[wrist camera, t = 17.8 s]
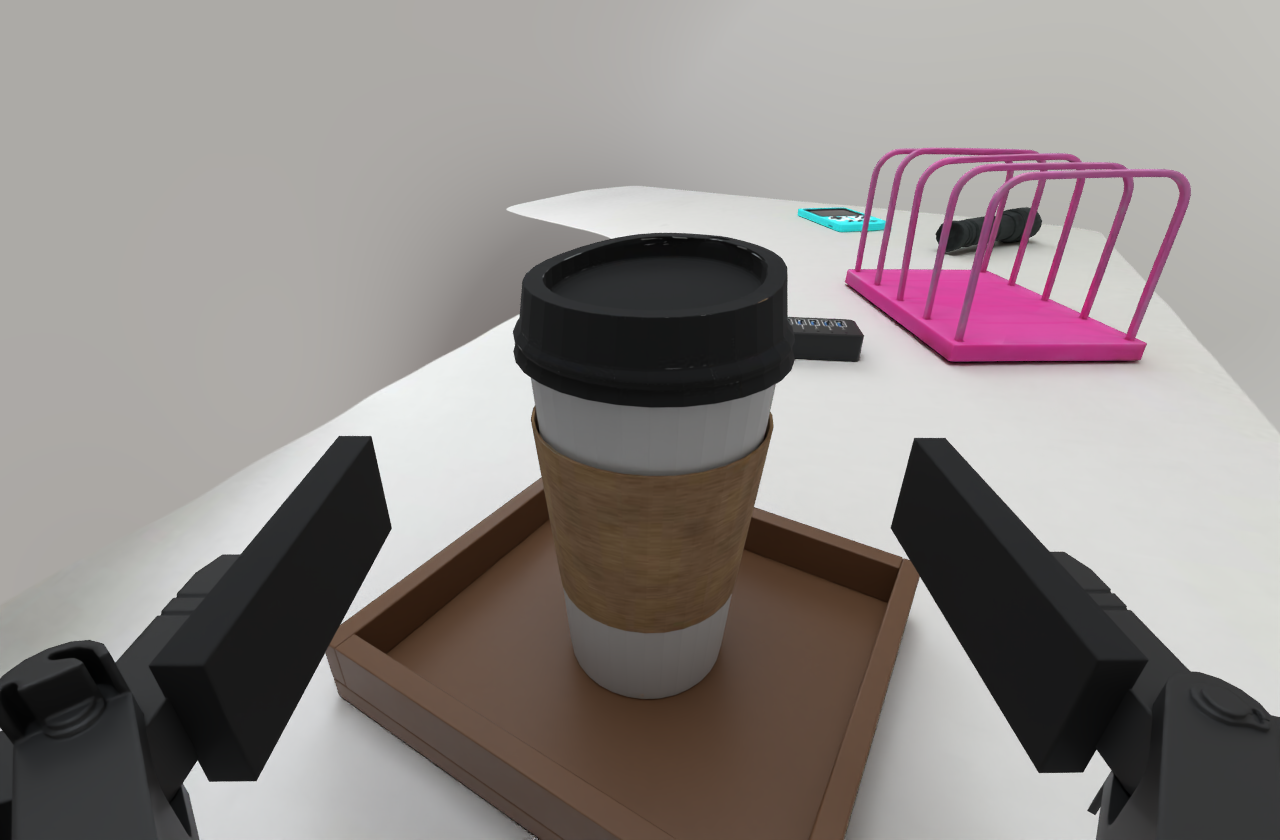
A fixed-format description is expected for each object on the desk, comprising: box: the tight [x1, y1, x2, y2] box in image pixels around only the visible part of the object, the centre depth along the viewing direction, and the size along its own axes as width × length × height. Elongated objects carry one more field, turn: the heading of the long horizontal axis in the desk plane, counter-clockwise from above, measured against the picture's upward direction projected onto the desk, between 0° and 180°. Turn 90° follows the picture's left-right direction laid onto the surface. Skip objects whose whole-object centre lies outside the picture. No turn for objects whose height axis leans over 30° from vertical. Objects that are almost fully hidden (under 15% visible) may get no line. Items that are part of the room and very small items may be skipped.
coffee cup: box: [513, 233, 795, 699], centre depth 21 cm, size 8×8×15 cm
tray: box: [325, 477, 920, 840], centre depth 24 cm, size 18×16×3 cm
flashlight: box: [936, 208, 1042, 252], centre depth 93 cm, size 5×21×5 cm, turn 123°
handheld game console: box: [798, 208, 886, 232], centre depth 110 cm, size 10×16×1 cm, turn 13°
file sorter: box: [845, 148, 1191, 361], centre depth 60 cm, size 17×25×16 cm
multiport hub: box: [787, 317, 864, 361], centre depth 55 cm, size 4×11×2 cm, turn 85°
